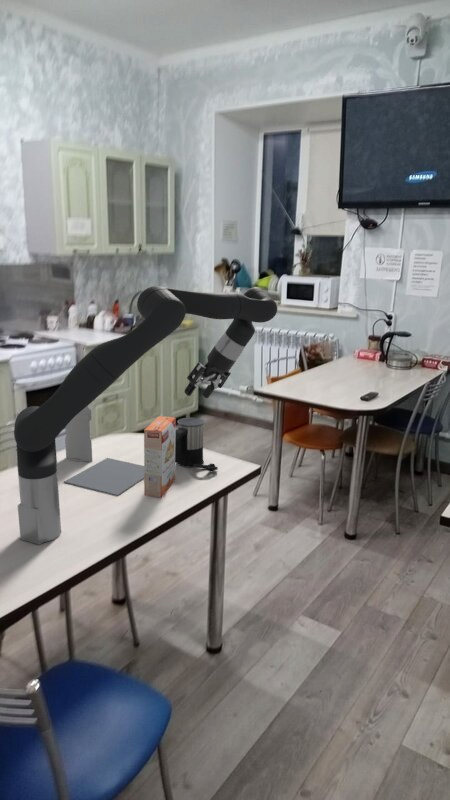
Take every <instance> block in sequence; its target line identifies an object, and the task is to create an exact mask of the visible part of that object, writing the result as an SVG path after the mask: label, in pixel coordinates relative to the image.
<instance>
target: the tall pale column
mask: <svg viewBox="0 0 450 800" xmlns="http://www.w3.org/2000/svg"><path fill="white" fill-rule="evenodd" d="M91 421H92V409H91V408H90V407H89V405H88V406H87V407H85V408H84V409H83V410H82V411H81V412H79V413H78V414H77V415H76V416H75V417H74V418H73V419H72V420H71V421H70V422H69V423H68V424H67V426H66V427H65V428H64V429H65V430H64V431H65V437H64V443H65V444H64V445H65V459H66V460H69V459H70V460H69V461H73V462H77V463H78V462H79V463H80V462H84V463H85V462H86V463H91V462H93V448H92V447H93V445H92V444H93V443H92V438H91Z"/></svg>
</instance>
